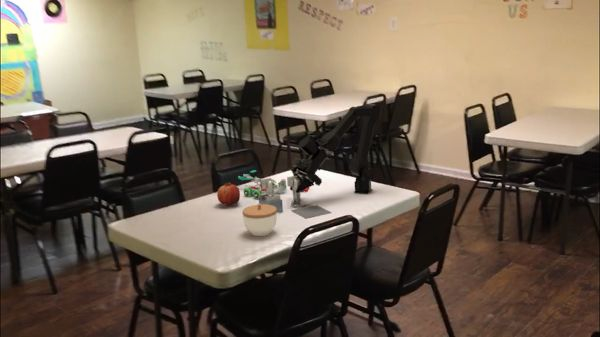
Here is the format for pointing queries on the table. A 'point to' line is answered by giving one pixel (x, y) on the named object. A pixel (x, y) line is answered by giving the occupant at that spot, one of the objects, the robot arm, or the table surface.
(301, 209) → the mat
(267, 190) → the vise
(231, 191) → the fruit
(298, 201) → the flanged metal post
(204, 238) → the table surface
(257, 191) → the robot kit
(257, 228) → the lidded bowl
